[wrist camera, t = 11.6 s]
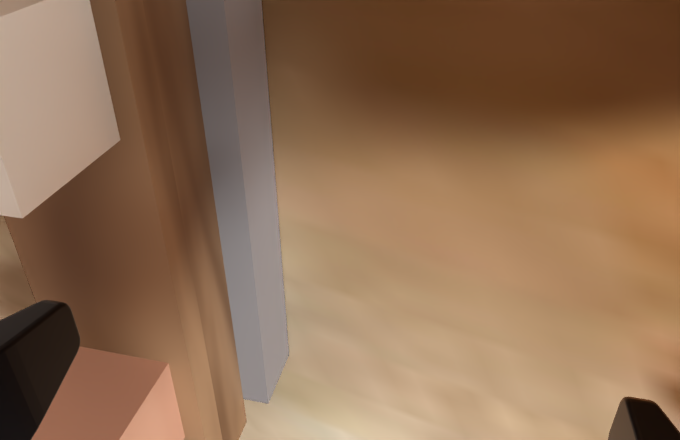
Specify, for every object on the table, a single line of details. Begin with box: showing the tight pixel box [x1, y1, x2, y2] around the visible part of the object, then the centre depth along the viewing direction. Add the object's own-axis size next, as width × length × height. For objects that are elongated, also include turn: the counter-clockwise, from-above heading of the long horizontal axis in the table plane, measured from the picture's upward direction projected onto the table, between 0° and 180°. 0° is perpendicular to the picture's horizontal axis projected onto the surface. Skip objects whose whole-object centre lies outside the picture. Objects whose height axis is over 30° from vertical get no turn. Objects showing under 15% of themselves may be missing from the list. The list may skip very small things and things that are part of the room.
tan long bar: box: [4, 0, 247, 440], centre depth 20 cm, size 6×23×4 cm, turn 0°
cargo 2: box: [31, 347, 185, 440], centre depth 21 cm, size 4×4×4 cm
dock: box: [186, 0, 289, 404], centre depth 23 cm, size 8×20×3 cm, turn 0°
